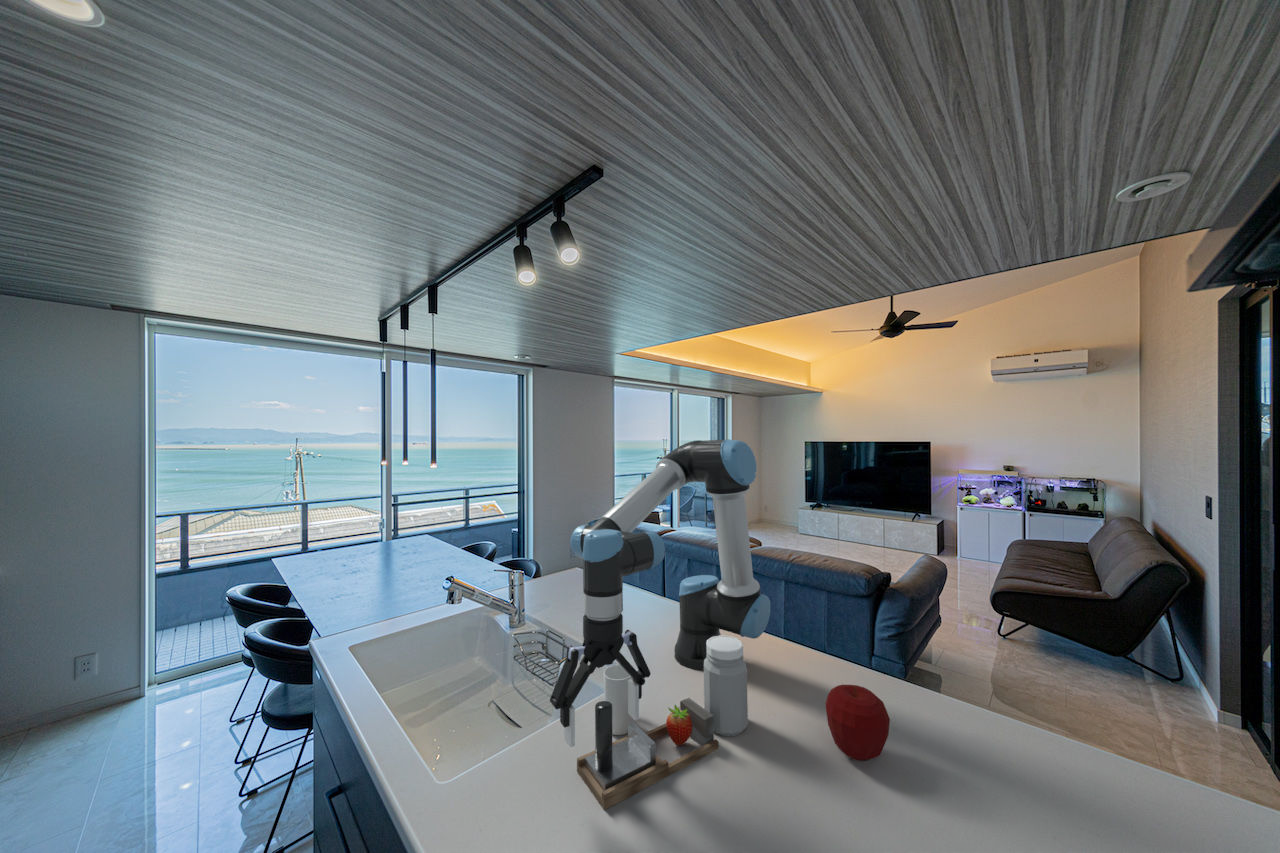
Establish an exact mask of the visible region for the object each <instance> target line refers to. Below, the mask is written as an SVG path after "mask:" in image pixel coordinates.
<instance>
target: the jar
mask: <svg viewBox="0 0 1280 853" xmlns="http://www.w3.org/2000/svg"><path fill="white" fill-rule="evenodd" d="M706 649H707V657H706V659H705V660H704V669H703V686H704V687H703V690H704V691H703V693H704V694H703V696H704V698H703V699H704V703H703V704H704V709H705V710H706V711H708V712H709V713H710V714H712V715H713V721H714V733H716V734H719V735H721V736H726V737H733V736H737V735H740V734H741V733H742V732H743V731H745V729H746V728H747V727H748V725H749V718H748V717H749V715H748V713H749V712H748V707H749V706H748V705H749V704H748V668H747V662H746V661H745V660H744V643H743V641H741V640H740V639H739V638H736V637H734V636H730V635H722V634H721V635H719V636H714V637H711V638H709V639H708V640H707V643H706Z"/></svg>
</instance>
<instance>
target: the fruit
mask: <svg viewBox="0 0 1280 853" xmlns="http://www.w3.org/2000/svg"><path fill="white" fill-rule="evenodd" d="M667 708H668V710H669V711H670V713H669V715H668V716H667V718H666V726H667V731H668V733H667V734H668V736H669V737H670V739H671V740H672V742H673V743H674V745H677V746H682V745H684V744H685V743H687V742H688V740H689V739H690V738H691V737H690V735H691V733H692V721H691V718H690V716H689V714H690V713H687V710H688V709H686V710H684V711H682V710H680V708H679V706H677V705H676V704H674V709H672V708H670V707H667Z"/></svg>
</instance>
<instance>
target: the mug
mask: <svg viewBox="0 0 1280 853" xmlns="http://www.w3.org/2000/svg"><path fill="white" fill-rule="evenodd" d="M630 679H632V680H633V678H632V677H631V676H630V675H629V674H628V673H627V672H626V671H625V669H624V668H623V667H622V666H621V665H620V664H619V663H618V664H611V665H609V666H608V667H606V668H605V669H604V670H603V697H604V698H603V701H608V702H610V703H611V704H612V736H623V735H625V734H628V723H630V722H634V719H633V718H632V717H631V716H630V715H629V714H628V680H630Z"/></svg>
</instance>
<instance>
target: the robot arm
mask: <svg viewBox="0 0 1280 853" xmlns="http://www.w3.org/2000/svg"><path fill="white" fill-rule="evenodd" d="M757 469H758V468H757V460H756V457H755V454H754V452H753V450H752V448H751V447H750V446H749V444H748V443H746V442H745V441H744V440H743V441H742V440H737V439H736V440H735V439H734V440H733V439H715V440H714V439H711V440H709V439H708V440H706V439H705V440H693V441H689V442H686V443H684V444H682V445H679V446H678V447H676V448H674V449H673V450H671V451H669V452H668V453H667V454H666V455H664V456H663V457H662V458H661V459H660V460H659V461H658V462H657V463H656V465H655V469H654V470H653V471H652V472H651V473H649V474H648V475H647V476H646V477H645V478H644V479H643V480H642V481H640V482H639V483H638V484H637V485H635V487H634V488H633V489H631V490H630V491H629V492H628V493H627V494H626V495H625V496H624V497H622V498H621V499H620V500H619V501H618V502H617V503H616V504H614V505H613V507H611V508H610V509H609V510H608V511H607V512H605V513H604V515H602V516H601V517H600V518H599V519H598V520H596V522H594V523H593V524H592V525H590V524H582V525H579V526H578V527H576V528H575V529H574V530H573V531H572V533H571V537H570V549H571V552H572V553H573V554H574V555H575V556H576V557H578V558H580V559H582V575H583V577H582V578H583V579H582V580H583V581H582V583H583V586H582V587H583V590H582V593H583V594H582V598H583V600H582V609H583V611H582V613H583V614H584V615H583V617H582V636H583V642H582V645H581V646H573V645H568V647H567V649H566V657H565V660H564V663H563V666H562V668H561V671H560V673H559V675H558V678H557V681H556V683H555V685H554V687H553V691H552V693H551V696H550V697H549V702H550V704H551V705H552V706H553V708H554V709H555V710H560V711H559V713H560V716H559V722H560V724H561V725H562V727H563V728H564V741H565V742H566V743H567V744H568V746H569V747H570V748H573V747H575V744H576V740H575V738H576V734H575V733H576V729H575V728H576V727H575V726H576V723H575V722H576V711H575V710H576V707H574V706H573V704H574V702H575V700H576V699H577V697H578V695H579V693H580V692H581V690H582V688H583V686H584V685H585V684H586V682H587V681H588V679H589V677H590V675H591V674H594V672H595V670H596V668H598V669H600V668H603V667H604V666H606V665H607V666H608V665H609V666H611V665H614V664H613V663H614V661H616V662H617V663H618V664H620V665H621V666H622V667H623V668H624V669H625V671H626V672H627V673H628V674H629V675H630V676H631V677H632V678H633V680H632V679H630V680H628V714H629V715H630V716H631V717H632V718H633V721H635V722H636V721H638V720H640V714H639V713H640V707H639V706H640V705H639V704H640V703H639V702H640V699H642V696H643V694H642V692H643V691H642V690H643V689H642V688H643V687H642V686H644V685H645V684H646V678H649V677H650V676H651V670H650V669H649V668H650V667H649V666H648V663H647V662H646V660H645V658H644V655H643V654H642V651H641V649H640V647H639V645H638V637H637V634H636V633H634V632H633V631H631V630H630V629H626V630H625V631H624V620H623V618H624V617H623V611H624V599H623V598H624V597H623V596H624V595H623V593H624V592H623V589H624V588H623V584H624V583H623V582H624V580H623V579H624V577H628V576H630V575H633V574H636V573H639V572H643V571H648V570H651V569H652V568H654V567H657V566H658V565H661V563H662V562H663V560H664V558H665V556H666V553H665V552H666V548H665V543H664V540H663V538H662V537H661V536H660V535H659V534H658V533H656V532H654V531H640V532H638V533H635V532H633V531H634V530H635V529H636V528H638V526H640V524H641V523H643V521H644V520H646V518H648V516H649V515H650V514H652V512H653V511H655V510H656V509H657V508H658V507H659V506H660V505H661V504H662V503H663V502H664V501H665V500H666V499H667V497H668V496H670V495H671V494H672V493H673V492H674V491H675V490H681V489H682V488H683V487H684V486H685V485H686V484H689V483H694V482H697V483H698V482H699V483H705V492H706V493H707V494H708V495H709V496H710V497H711V498H712V504H713V512H714V521H715V523H714V524H715V531H716V532H715V533H716V540H717V541H716V542H717V550H718V559H719V568H720V576H721V580H719V578H718V577H717V576H715V575H713V574H712V575H711V574H700V575H693V576H689V577H686V578H684V579H683V580H681V582H680V584H679V592H678V593H679V594H678V596H679V631H678V632H679V633H678V636H677V640H676V643H675V646H674V658H675V660H676V662H678V663H679V664H681V666H683V667H684V666H685V667H686V668H690V669H695V670H704V660H705V659H706V657H707V649H706V643H707V640H708V639H709V638H711V637H714V636H719V635H722V634H721V631H720V630H722V631H725V632H726V631H727V632H728V633H732V634H735V635H739V636H740V637H742V638H744V637H745V638H749V639H753V640H754V639H757V638H759V637H760V636H761V635H762V634H763V633H764V632H765V630H766V628H767V626H768V622H769V620H770V615H771V600H770V598H769V597H768V596H767V595H765V594H764V593H762V594H761V586H760V583H759V582H758V580H757V579H756V578H754V573H753V572H754V571H753V563H752V554H751V545H750V535H749V525H748V517H747V515H748V514H747V506H746V505H747V504H746V497H745V495H746V494H747V492H749V490H750V489H751V488H750V485H751V484H752V483H753V482H754V481H755V479H756V476H757V474H756V473H757ZM623 631H624V632H623ZM624 644H625V645H626V646H627V649H628V651H629V653H630V655H631V657H632V659H633V661H634V664H635V666H636V668H637V670H636V668H634V666H633V665H632V664H631V663H630V662H629V661H628V660H627V659H626V657H625V656H624V655H623V654H622V652H621V649H622V648H623V645H624ZM582 655H583V657H582ZM581 657H582V659H581ZM579 661H580V662H579ZM578 662H579V666H578ZM588 664H589V665H588ZM577 667H578V668H577Z"/></svg>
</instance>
